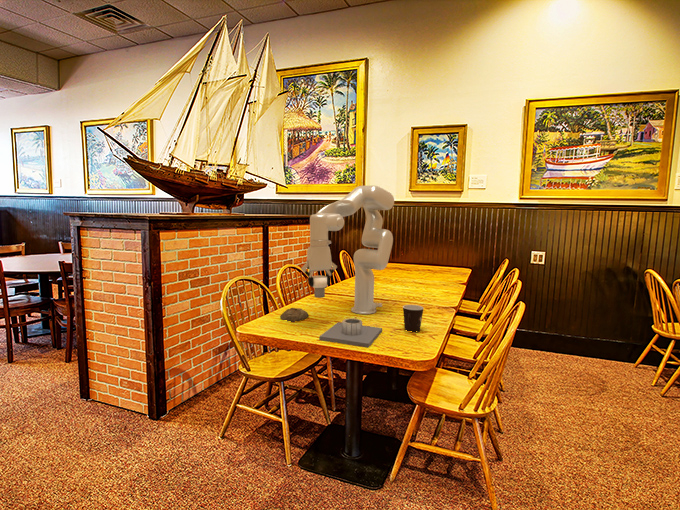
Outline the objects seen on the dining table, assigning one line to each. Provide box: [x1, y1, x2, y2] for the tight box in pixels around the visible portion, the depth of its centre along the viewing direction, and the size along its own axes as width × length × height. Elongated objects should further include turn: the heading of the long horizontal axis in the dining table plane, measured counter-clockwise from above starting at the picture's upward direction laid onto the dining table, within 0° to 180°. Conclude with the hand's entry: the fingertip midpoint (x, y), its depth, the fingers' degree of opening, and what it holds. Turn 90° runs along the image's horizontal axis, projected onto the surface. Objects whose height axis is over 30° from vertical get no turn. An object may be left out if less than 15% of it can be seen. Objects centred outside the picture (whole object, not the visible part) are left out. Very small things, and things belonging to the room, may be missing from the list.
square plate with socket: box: [319, 318, 383, 348], centre depth 150 cm, size 20×20×6 cm
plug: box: [312, 275, 328, 299], centre depth 158 cm, size 7×7×8 cm
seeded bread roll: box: [279, 307, 310, 323], centre depth 174 cm, size 13×12×5 cm
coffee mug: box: [402, 304, 424, 333], centre depth 157 cm, size 12×9×10 cm
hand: (319, 285), depth 158 cm, fingers closed on plug, 6 cm apart
